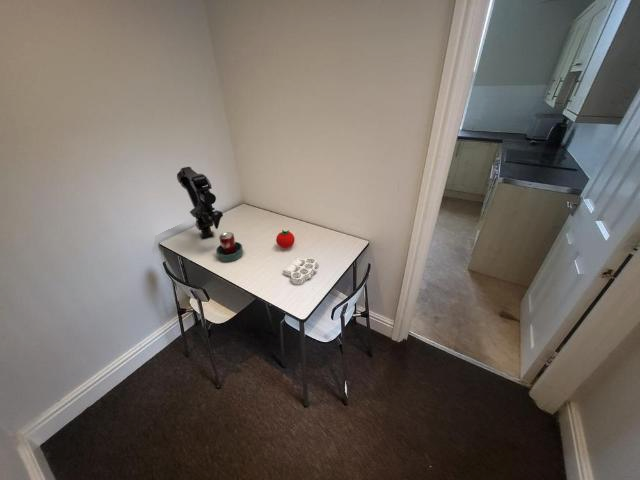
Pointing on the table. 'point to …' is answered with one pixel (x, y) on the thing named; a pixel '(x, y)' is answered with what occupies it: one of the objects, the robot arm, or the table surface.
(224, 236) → the soda can
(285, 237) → the tomato
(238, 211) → the table surface
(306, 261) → the white muffin tray
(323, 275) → the table surface
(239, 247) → the bowl
